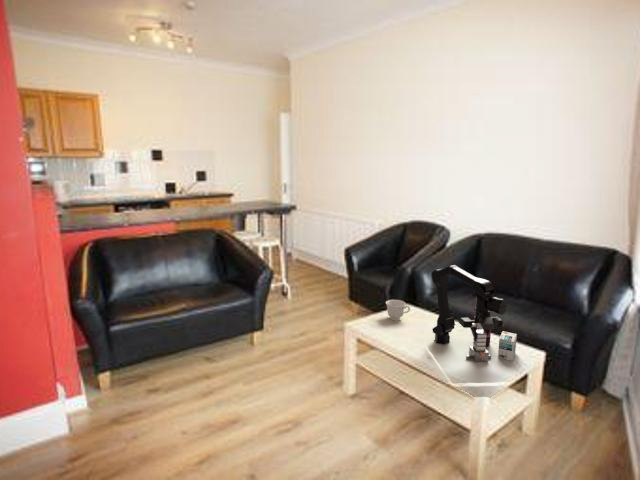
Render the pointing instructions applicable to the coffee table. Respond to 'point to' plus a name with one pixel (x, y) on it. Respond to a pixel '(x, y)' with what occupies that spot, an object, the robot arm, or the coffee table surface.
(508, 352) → the light bulb box
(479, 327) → the beverage can
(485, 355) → the stand base
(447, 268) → the robot arm
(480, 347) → the column
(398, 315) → the teacup
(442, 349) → the coffee table surface
